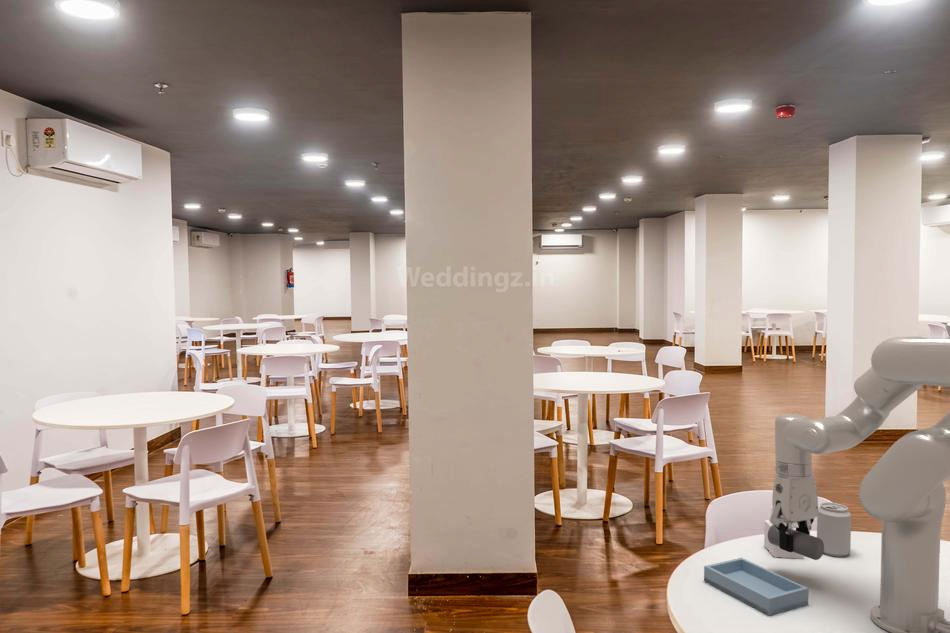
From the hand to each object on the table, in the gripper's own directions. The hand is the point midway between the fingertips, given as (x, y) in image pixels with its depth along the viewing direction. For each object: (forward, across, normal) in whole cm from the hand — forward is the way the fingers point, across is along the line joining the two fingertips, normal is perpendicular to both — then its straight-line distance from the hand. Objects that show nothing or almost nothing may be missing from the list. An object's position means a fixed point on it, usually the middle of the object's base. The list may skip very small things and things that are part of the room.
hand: (794, 547), depth 148 cm
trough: (+7, -14, -1) cm, 16 cm away
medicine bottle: (+7, +11, +12) cm, 18 cm away
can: (+7, +23, +7) cm, 25 cm away
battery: (+1, 0, 0) cm, 1 cm away
